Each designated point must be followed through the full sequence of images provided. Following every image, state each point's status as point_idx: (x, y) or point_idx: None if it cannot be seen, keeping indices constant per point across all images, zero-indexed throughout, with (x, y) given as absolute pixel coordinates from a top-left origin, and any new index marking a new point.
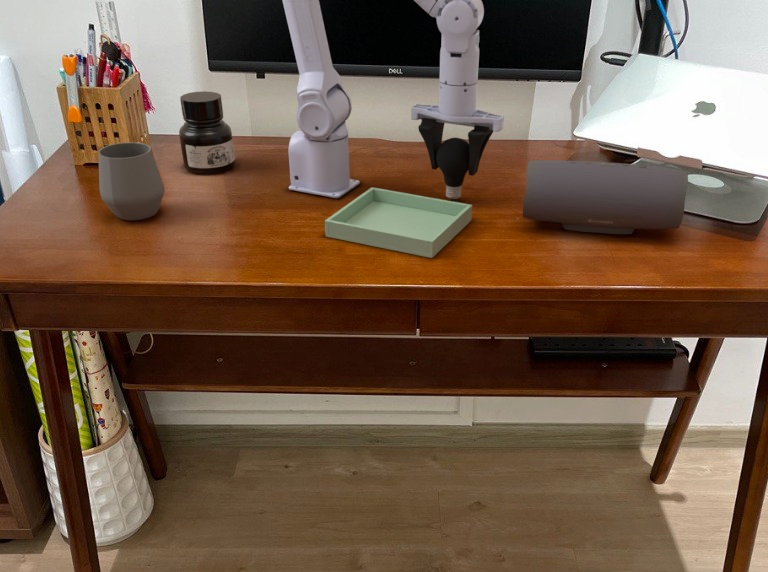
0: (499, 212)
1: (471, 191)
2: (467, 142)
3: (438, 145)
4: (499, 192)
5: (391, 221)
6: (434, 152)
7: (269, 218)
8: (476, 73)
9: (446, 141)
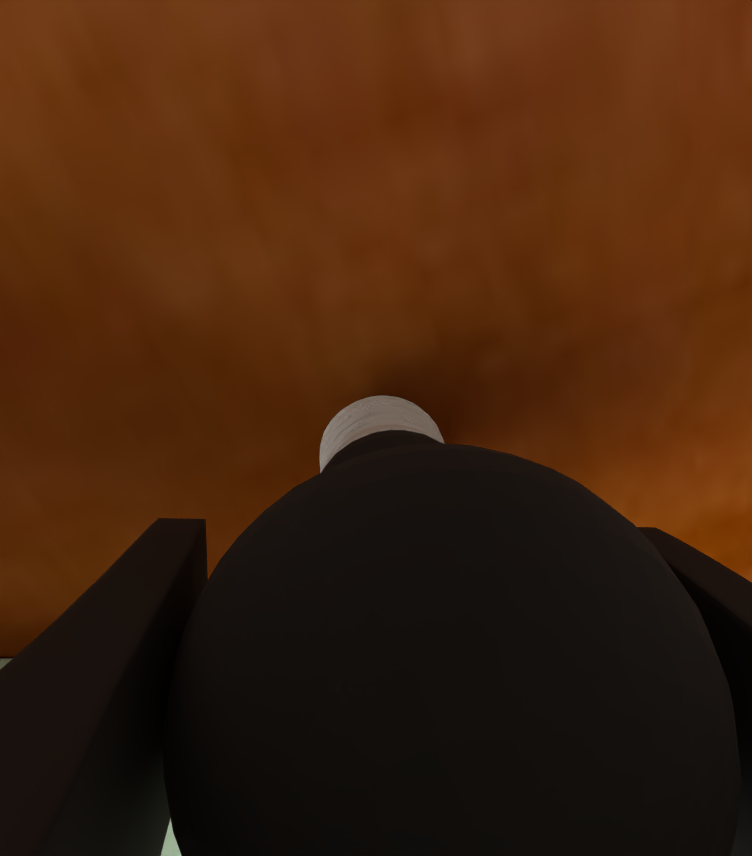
0: (719, 494)
1: (463, 173)
2: (714, 847)
3: (125, 807)
4: (713, 97)
5: (176, 849)
6: (154, 843)
7: None
8: None
9: None
